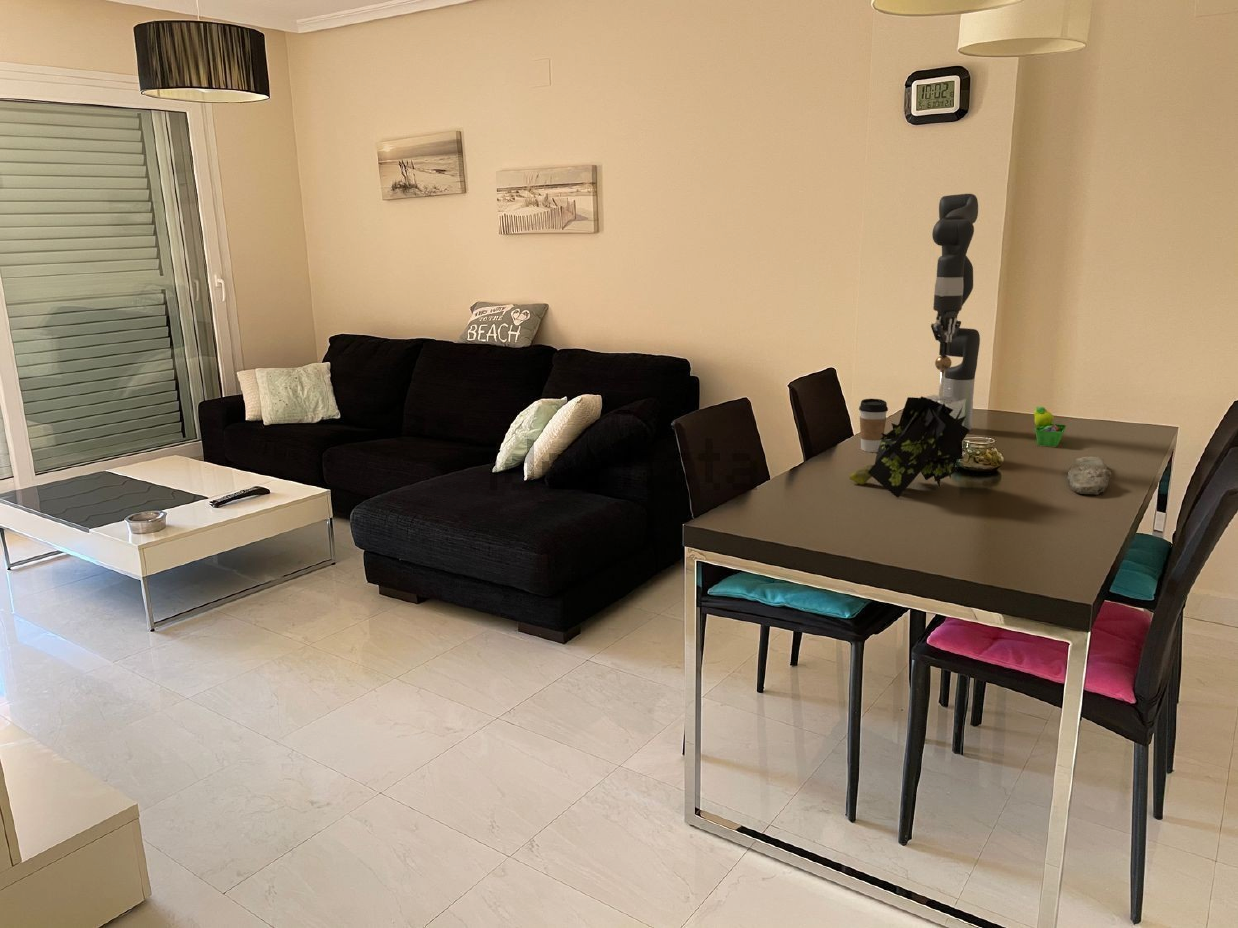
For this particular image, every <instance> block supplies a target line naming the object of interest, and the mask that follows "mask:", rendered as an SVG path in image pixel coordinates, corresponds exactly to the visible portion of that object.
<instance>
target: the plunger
mask: <svg viewBox="0 0 1238 928" xmlns="http://www.w3.org/2000/svg"><path fill="white" fill-rule="evenodd" d="M934 366H935V368H936V369H937V370H939V371H940V372H939V386H938V387H939V388H938V396H939V398H938V400H943V392H944V378H945V371H946V370H948V369H949V368H950V367H952V359H951V358H950V356H940V355H939V356H938V357H937V358H936V359H935V362H934Z"/></svg>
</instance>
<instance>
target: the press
mask: <svg viewBox="0 0 1238 928" xmlns="http://www.w3.org/2000/svg"><path fill="white" fill-rule="evenodd" d="M924 397H925V398H928V399H932V400H933V401H935V402H936V401H937V402H938V403H940V404H942V405H943V403H944V404H945V406H947V407H949V408H951V409H953V411H952V412H951V413H950V414H949V415H951V416H952V417H953V418H956V417H957V415H958V413H959V411H960V410H961V408H962V411H961V414H960V416H959V418H962V417H964V414H965V402H966V399H961V398H953V397H946V396H943V400H938V398H939V394H937V395H936V394H933V395H932V394H931V395H928V396H924ZM962 406H963V407H962ZM959 418H958V419H959ZM962 425H963V426H964V421H963V423H962Z"/></svg>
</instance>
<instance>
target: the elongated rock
mask: <svg viewBox="0 0 1238 928" xmlns="http://www.w3.org/2000/svg"><path fill="white" fill-rule="evenodd" d="M1111 476H1112V472H1111V470H1110V469H1108V467H1107V463H1105V461H1104V458H1101V457H1099V456H1091V455H1090V456H1082V457H1078V458H1076V459H1075V460H1074V461H1073V462H1072V465H1071V466H1070V467H1069V471H1068V472H1067V481H1068V483H1069V487H1070V488H1072V489H1071V490H1072V491H1074V492H1075V493H1077V494H1081V495H1082V494H1084V495H1095V496H1097V495H1099V494H1100V493H1104V492H1105V490H1106V489H1107V487H1108V486H1109V480H1110V477H1111Z"/></svg>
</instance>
